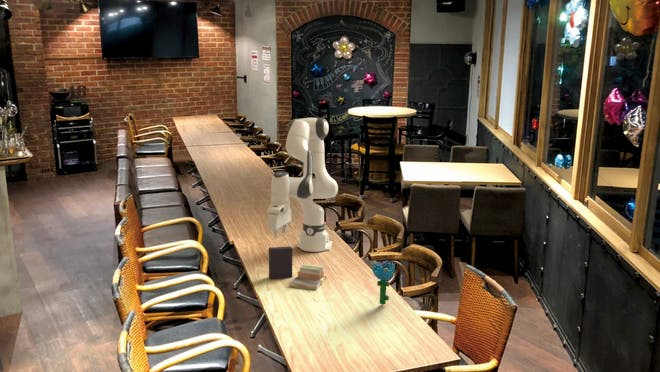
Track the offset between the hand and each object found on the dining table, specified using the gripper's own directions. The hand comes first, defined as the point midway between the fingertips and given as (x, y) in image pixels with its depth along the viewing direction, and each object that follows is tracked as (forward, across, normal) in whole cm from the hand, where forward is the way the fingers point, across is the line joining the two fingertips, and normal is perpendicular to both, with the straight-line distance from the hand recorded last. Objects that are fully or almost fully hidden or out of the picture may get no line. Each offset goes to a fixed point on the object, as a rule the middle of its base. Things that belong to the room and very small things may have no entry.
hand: (280, 234), depth 283 cm
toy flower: (+22, +15, +54) cm, 60 cm away
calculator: (+22, -1, 0) cm, 22 cm away
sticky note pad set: (+22, +2, +15) cm, 27 cm away
